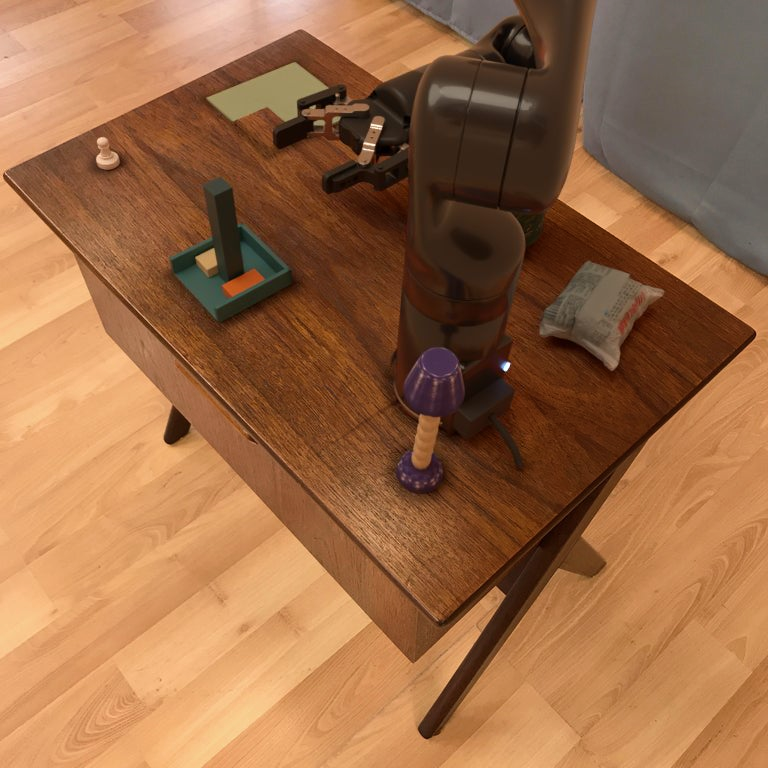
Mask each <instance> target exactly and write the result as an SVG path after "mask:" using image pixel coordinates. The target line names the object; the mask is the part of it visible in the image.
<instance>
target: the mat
mask: <svg viewBox="0 0 768 768" xmlns="http://www.w3.org/2000/svg"><path fill="white" fill-rule="evenodd" d="M328 88H329V87H328V85H325V84H324V83H323V82H321V81H320V80H319V79H318V78H317V77H315V76H314V75H313V74H311V73H310V72H309V71H308V70H306V69H305V68H304V67H302V66H301V65H300V64H298V63H297V62H296V61H294V62H291V63H289V64H287V65H284V66H281V67H279V68H276V69H274V70H272V71H268V72H267V73H263V74H261V75H259V76H257V77H254V78H252V79H249V80H246V81H243V82H242V83H239V84H237V85H235V86H234V85H233V86H232V87H229V88H227V89H224V90H221V91H219V92H217V93H215V94H212V95H210V96H207V97H206V101H207V102H208V103H209V104H210V105H212V106H213V107H214V109H216V110H217V111H218V112H220V114H222V115H223V117H225V118H226V119H228V121H229V122H231V123H233V122H235V121H238V120H239V119H242V118H245V117H248V116H249V115H251V114H254V113H256V112H258V111H259V112H260V111H261V110H263V109H266V108H267V109H269V110H270V111H271V112H272V113H274V114H275V115H276V116H277V117H278V118H279V119H281V120H282V121H283V122H286V121H289V120H291V119H293V118H296V117H298V114H297V100H298V99H301V98H303V97H306V96H309V95H312V94H314V93H317V92H320V91H323V90H325V89H328ZM315 108H316V105H314V106H311V107H310V109H315ZM340 118H341V117H334V118H333V119H332V126H333V127H334V126H336V125H338V123H339V120H340ZM314 125H325V121H324V120H317V121H315V122H314ZM310 137H311V136H307V138H310ZM307 138H305V139H307ZM305 139H304V140H305Z"/></svg>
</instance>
